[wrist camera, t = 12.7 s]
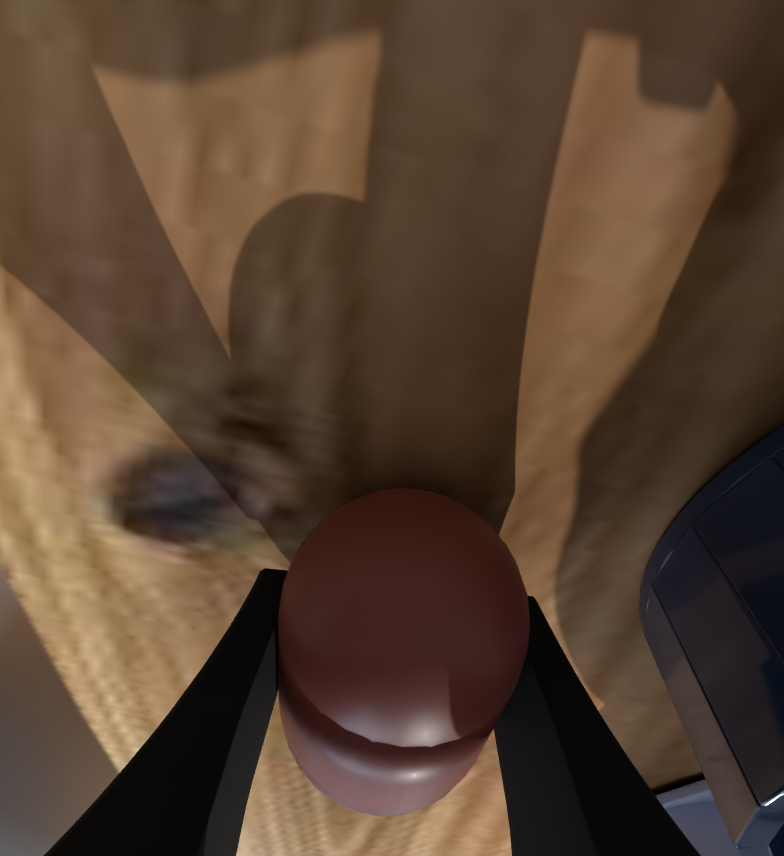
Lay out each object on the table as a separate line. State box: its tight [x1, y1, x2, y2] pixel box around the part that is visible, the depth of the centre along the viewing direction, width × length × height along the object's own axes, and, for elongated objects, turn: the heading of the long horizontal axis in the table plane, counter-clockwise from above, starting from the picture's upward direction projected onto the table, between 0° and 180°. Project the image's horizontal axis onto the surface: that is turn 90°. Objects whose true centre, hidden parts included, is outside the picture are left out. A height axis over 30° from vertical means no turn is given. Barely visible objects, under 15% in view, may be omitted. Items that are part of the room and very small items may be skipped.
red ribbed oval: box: [278, 488, 530, 816], centre depth 10 cm, size 8×5×5 cm, turn 173°
